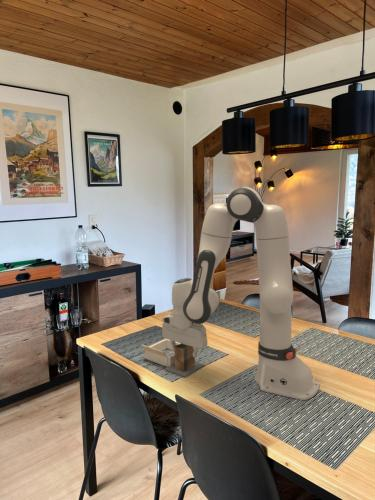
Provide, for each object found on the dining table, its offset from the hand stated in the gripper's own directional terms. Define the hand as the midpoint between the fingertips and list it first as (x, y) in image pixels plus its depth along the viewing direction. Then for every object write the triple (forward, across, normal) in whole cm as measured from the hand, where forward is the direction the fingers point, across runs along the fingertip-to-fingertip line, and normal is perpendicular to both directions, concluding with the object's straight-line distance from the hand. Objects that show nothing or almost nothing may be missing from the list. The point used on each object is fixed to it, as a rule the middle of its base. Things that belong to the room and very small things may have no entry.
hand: (184, 353), depth 145 cm
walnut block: (+6, 0, 0) cm, 6 cm away
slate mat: (+6, 0, 0) cm, 6 cm away
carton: (+6, +12, -4) cm, 14 cm away
